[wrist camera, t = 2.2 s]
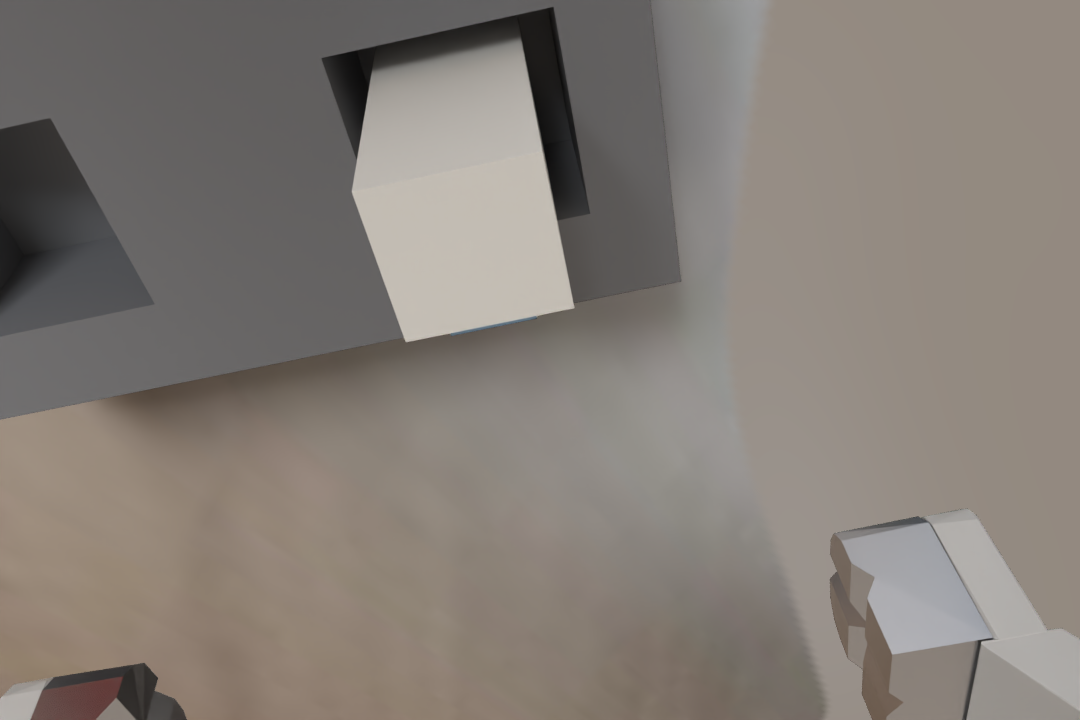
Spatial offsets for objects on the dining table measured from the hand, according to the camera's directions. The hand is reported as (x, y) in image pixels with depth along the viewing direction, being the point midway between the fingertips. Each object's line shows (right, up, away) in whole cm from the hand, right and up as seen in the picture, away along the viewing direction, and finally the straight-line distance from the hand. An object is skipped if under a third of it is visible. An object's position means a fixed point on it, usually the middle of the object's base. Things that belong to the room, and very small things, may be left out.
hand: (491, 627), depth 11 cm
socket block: (-7, +10, +14) cm, 19 cm away
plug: (-1, +11, +13) cm, 17 cm away
